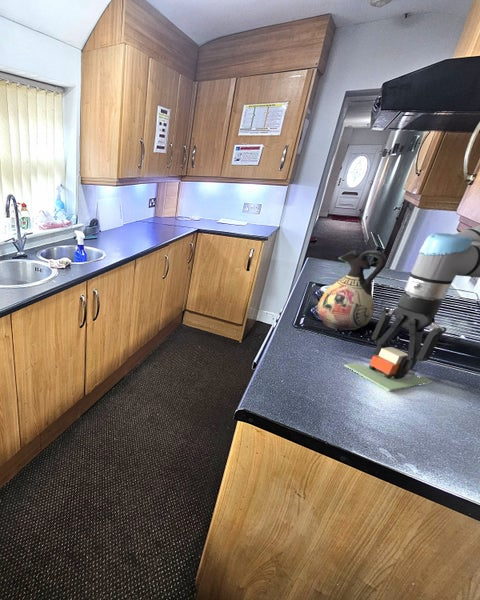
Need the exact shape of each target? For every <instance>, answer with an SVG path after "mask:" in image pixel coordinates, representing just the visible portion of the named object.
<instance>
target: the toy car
mask: <svg viewBox="0 0 480 600" xmlns="http://www.w3.org/2000/svg"><path fill="white" fill-rule="evenodd" d="M403 357H408V352H405V351H402V350H400V349H398V348H395V347H393V346H389V347H388V348H382V349H381V351H380V353H379V355H375V354H374V355H373V356H372V357H371V359H370V362H369V366H368V367H369V369H371V370H378V371H381V372H384V373H385V374H384V376H385V377H386V378H388V379H389V378H391V377H392V376H395V374H396V372H397V370H398V367H399V365H400V363H401V361H402V359H403ZM410 371H411V370H407V372H406V374H405V376H407V375H408V374H409V372H410Z"/></svg>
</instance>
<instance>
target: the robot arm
mask: <svg viewBox="0 0 480 600" xmlns="http://www.w3.org/2000/svg"><path fill="white" fill-rule="evenodd" d="M456 276H458V277H470V278H480V224H478V225H476V226H473V227H470V228H467V229H465V230H462V231H459V232H457V233H443V232H436V233H431V234H429V235H428V236H427V237H426V239H425V240H424V242H423V243H422V246H421V247H420V249H419V253H418V255H417V258H416V260H415V262H414V265H413V267H412V269H411V272H410V274H409V277H408V279H407V281H406V283H405V285H404V288H403V292H402V293H401V294H400V297H399V299H398V302H397V306H395V307H394V308H392V307H383V308H381V309H380V317H379V318H378V321H377V324H376V326H375V328H374V331H373V333H372V335H371V340H372V341H375V343H376V347H375V349H374V351H373V355H374V356H375V355H379V353H380V351H381V349H382V348H388V347H390V346H389V344H390V342H391V341H392V340H393V339H394V338H395V336H397V335H398V334H399V332H400V331H401V330H402V329H403V328H405V329H406V330H408V334H409V341H408V349H407V354H408V357H403V359H402V361H401V363H400V365H399V367H398V370H397V372H396V374H394V375H393V376H394V378H395V379H400V378H402V379H405V376H406V375H405V374H406V372H407V370H410V371H411V370H413V369H414V367H415V366H416V363H417V362H420V363H421V362H427V361H429V360H430V358H431V356H432V354H433V352H434V351H435V348H436V345H437V344H438V341H439V340H440V337H442V335H443V334H445V333H446V332H447V330H448V329H447V328H446V327H445V326H440V325H438V324H437V323H436V320H435V317H436V316H437V314H438V312H439V310H440V308H441V306H442V305H443V299H445V298H446V296H447V294H448V292H449V291H450V290H449V289H450V287H451V286H452V284H453V281H454V280H455V278H456ZM393 316H394V318H395V320H394V321H393V322H392V323H391V320H392V317H393ZM390 323H391V326H389V324H390ZM388 327H389V328H388ZM428 327H429V329H428V332H429V333H428V334H427V335H426V337H425V339H424V341H423V335H424V333H425V329H426V328H428ZM387 328H388V329H387ZM422 341H423V343H422Z"/></svg>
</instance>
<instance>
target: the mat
mask: <svg viewBox="0 0 480 600" xmlns="http://www.w3.org/2000/svg"><path fill="white" fill-rule="evenodd" d="M343 366H344V367H345V368H347V369H348V368H349V370H350V369H351V370H350V371H352V370H353V371H352V372H354V373H355V372H356V373H355V374H357V373H358V374H357V375H358V376H360V377H362V376H363V378H364V379H366V380H368V381H369V380H370V381H369V382H370V383H373V384H374V385H376V386H378V387H380V388H382V389H384V390H385V391H387V392H394V391H398V389H399V390H403V389H402V388H404V389H407V388H406V387H409V388H411V387H410V386H414V387H416V386H415V385H419V384H423V383H428V382H432V381H433V380H431V379H430V378H427V377H426V376H423V377H420V378H419V377H417V375H415V374H414V373H413V374H414V375H413V374H412V376H410V377H409V379H405V378H400V379H395V378H394V376H395V375H393V376H392V377H391V378H389V379H388V378H386V377H385V376H384V374H385V373H384V372H382V371H380V370H379V369H376V370H371V369H369V366H366V365H365V364H361V363H359V362H351V363H346V364H344V365H343ZM432 383H433V382H432ZM419 386H420V385H419ZM393 390H394V391H393Z"/></svg>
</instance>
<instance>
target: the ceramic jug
mask: <svg viewBox="0 0 480 600" xmlns="http://www.w3.org/2000/svg"><path fill="white" fill-rule="evenodd" d="M367 257H373V258H376V259H377V260H378V264H377V266H376V267H375V268H374V270H373V271H372V272H371V273H370V274H369V275H367V278H365V273H364V270H370V269H371V264H370V262H369V261H368V260H367ZM338 260H340V261H342V262H343V263H346V264H347V265H349V266H350V270H349V272H348V273H347V274H346V275H345V276H343V277H342V278H340V279H338V280H337V281H336V282H334V283H333V284H332V285H330V286H329V287H328V288H327V289H326V290H325V292H323V295H322V296H321V297H320V299H319V301H318V304H317V313H318V316H319V318H320V320H321V321H322V323H323V324H324V325H325V326H327V327H329V328H330V329H334V330H337V329H339V330H338V331H342V330H354V331H356V330H358V329H360V328H362V327H364V326H366V325H368V324H369V322H370V321H371V320H372V318H373V315H374V312H375V302H374V297H373V294H372V290H373V285H372V283H373V281H374V280H375V278H376V277H377V276H378V275H379V274H380V273H381V272H382V271H383V269H384V268H385V266H386V264H387V256H386V254H385V253H384V252H382V251H381V250H377V249H369V250H365V251H363V252H362V253H361V254H360V255H359V253H358V251H357V250H356V249H354V250H352V251H348V252H347V253H345V254H343V255H341V256H339V257H338ZM369 320H370V321H369Z"/></svg>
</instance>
